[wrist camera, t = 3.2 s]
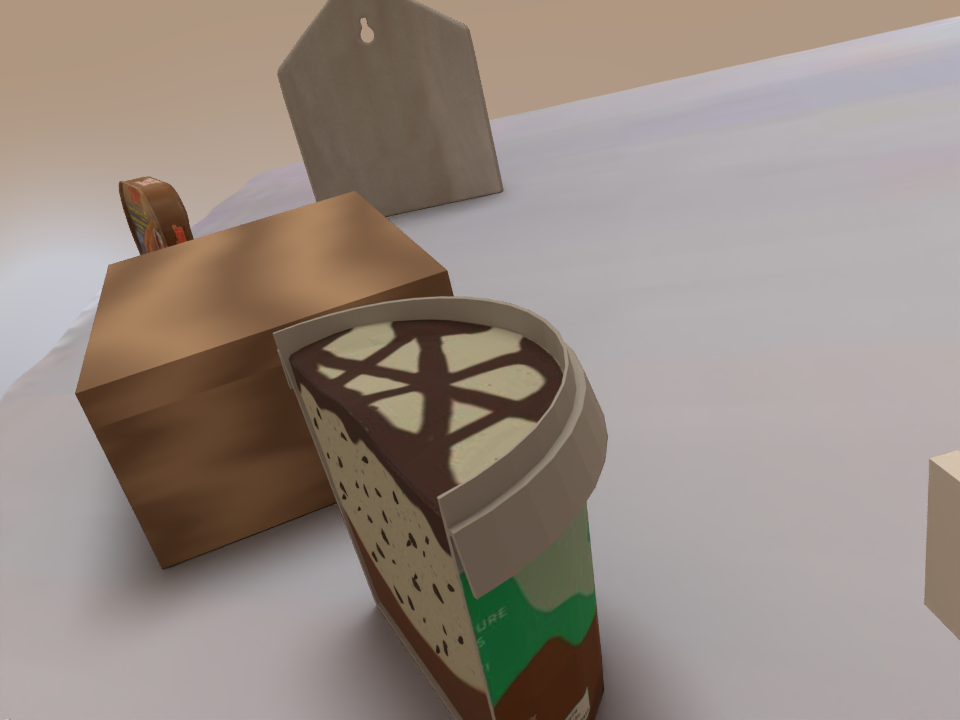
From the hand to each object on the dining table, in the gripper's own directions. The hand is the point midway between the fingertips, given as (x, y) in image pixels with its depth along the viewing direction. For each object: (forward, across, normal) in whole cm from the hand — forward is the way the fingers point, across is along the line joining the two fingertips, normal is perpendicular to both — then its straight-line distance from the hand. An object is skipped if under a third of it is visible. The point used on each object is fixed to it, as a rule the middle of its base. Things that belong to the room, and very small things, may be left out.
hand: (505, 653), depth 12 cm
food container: (+10, +1, -10) cm, 14 cm away
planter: (+66, +3, -10) cm, 67 cm away
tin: (+61, -18, -10) cm, 65 cm away
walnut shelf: (+29, -7, -10) cm, 31 cm away
